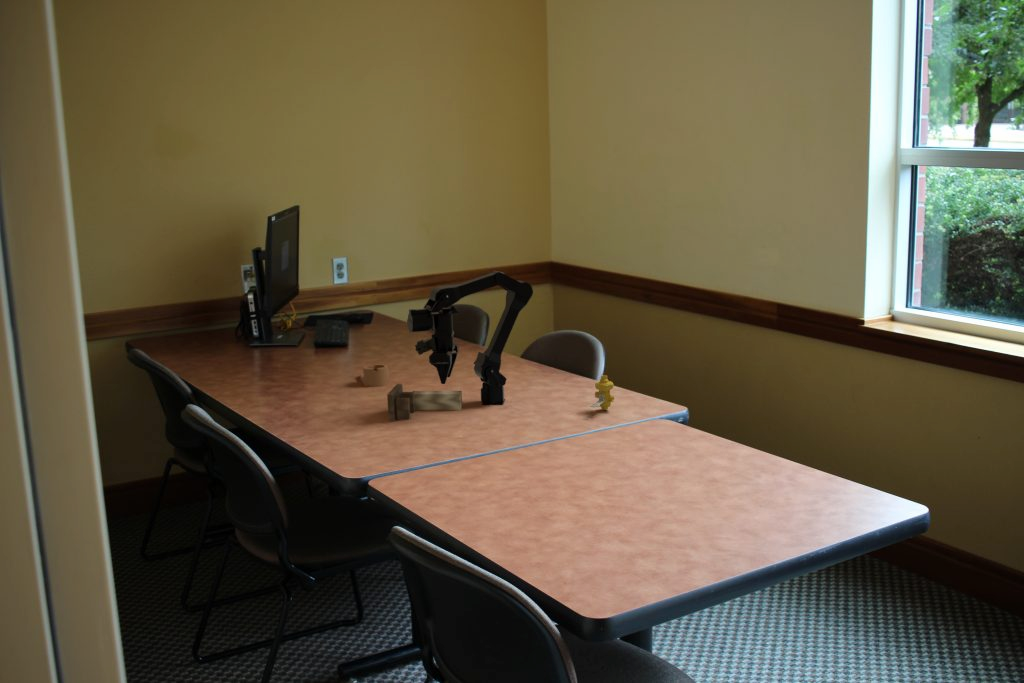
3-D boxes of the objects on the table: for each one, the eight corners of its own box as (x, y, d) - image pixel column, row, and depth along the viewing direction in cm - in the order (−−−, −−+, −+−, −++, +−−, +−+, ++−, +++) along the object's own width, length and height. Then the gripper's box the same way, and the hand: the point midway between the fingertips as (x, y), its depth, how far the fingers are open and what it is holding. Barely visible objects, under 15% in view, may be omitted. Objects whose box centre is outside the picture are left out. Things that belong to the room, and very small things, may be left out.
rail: (462, 406, 301) (461, 390, 301) (460, 410, 298) (459, 393, 297) (413, 407, 303) (412, 391, 302) (411, 410, 299) (410, 394, 298)
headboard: (416, 409, 300) (415, 383, 298) (407, 421, 286) (406, 394, 285) (398, 409, 300) (397, 383, 299) (388, 421, 287) (387, 394, 285)
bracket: (391, 388, 330) (390, 367, 329) (366, 390, 328) (364, 370, 327) (382, 377, 347) (381, 358, 346) (358, 379, 345) (357, 360, 344)
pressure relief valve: (616, 407, 294) (615, 374, 293) (602, 417, 284) (602, 383, 282) (598, 406, 297) (598, 373, 295) (584, 416, 286) (583, 381, 284)
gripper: (422, 324, 305) (424, 374, 308) (410, 335, 287) (413, 388, 290) (458, 323, 304) (460, 373, 307) (448, 334, 286) (451, 387, 289)
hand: (445, 380), depth 298 cm, fingers open, 9 cm apart
